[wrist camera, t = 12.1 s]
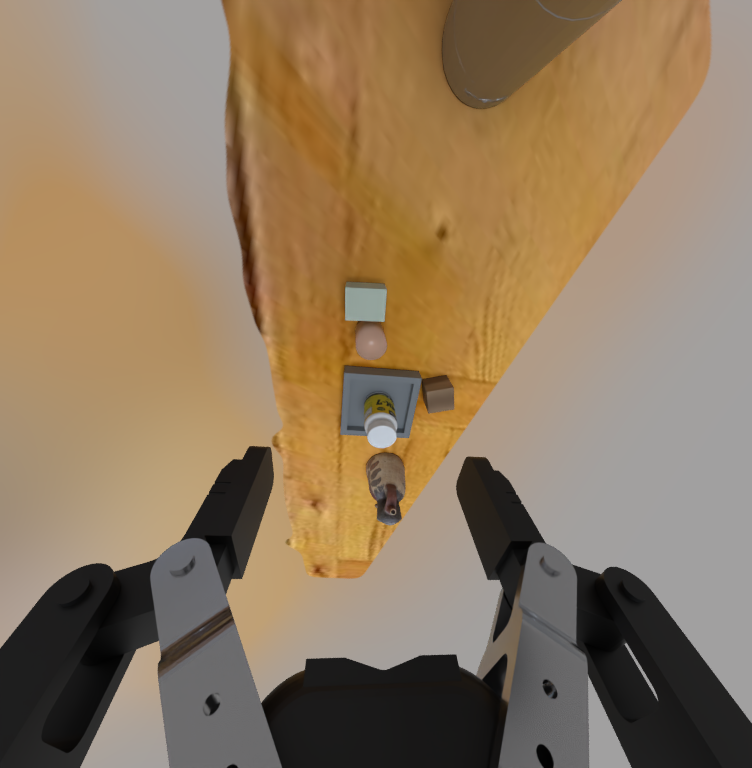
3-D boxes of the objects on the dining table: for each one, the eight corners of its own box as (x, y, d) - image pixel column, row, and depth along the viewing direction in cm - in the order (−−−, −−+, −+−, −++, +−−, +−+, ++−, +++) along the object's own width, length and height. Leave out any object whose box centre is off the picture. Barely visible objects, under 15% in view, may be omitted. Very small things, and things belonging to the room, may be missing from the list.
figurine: (362, 475, 54) (363, 534, 44) (371, 448, 51) (374, 505, 41) (396, 480, 56) (405, 539, 45) (407, 455, 52) (420, 511, 42)
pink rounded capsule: (349, 328, 39) (349, 343, 35) (372, 312, 38) (375, 325, 34) (366, 348, 41) (367, 365, 37) (388, 334, 40) (392, 349, 36)
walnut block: (421, 379, 44) (426, 391, 41) (446, 374, 44) (453, 387, 41) (423, 399, 46) (428, 413, 43) (447, 395, 46) (454, 409, 43)
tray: (344, 365, 42) (344, 372, 40) (418, 371, 43) (421, 378, 41) (341, 425, 48) (340, 434, 46) (406, 429, 49) (408, 438, 47)
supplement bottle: (398, 398, 44) (406, 432, 37) (383, 419, 46) (387, 455, 39) (373, 385, 43) (376, 418, 36) (358, 407, 45) (358, 442, 38)
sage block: (346, 281, 36) (345, 287, 33) (384, 283, 37) (386, 289, 33) (346, 311, 38) (345, 320, 35) (382, 313, 39) (384, 321, 35)
